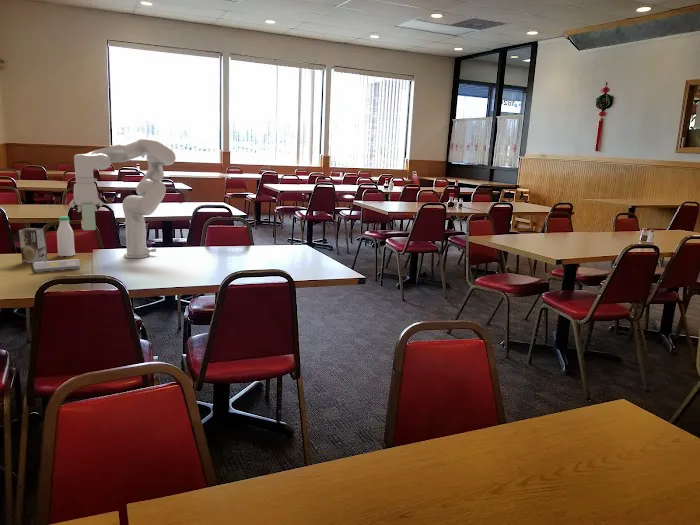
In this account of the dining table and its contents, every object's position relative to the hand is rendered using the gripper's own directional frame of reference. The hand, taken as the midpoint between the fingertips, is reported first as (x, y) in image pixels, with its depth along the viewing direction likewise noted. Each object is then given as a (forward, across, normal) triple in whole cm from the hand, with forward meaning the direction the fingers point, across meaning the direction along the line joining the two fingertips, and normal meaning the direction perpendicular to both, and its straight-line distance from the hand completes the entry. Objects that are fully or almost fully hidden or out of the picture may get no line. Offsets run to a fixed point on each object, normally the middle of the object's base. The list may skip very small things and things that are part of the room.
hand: (87, 219), depth 256 cm
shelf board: (+22, +15, +1) cm, 26 cm away
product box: (+5, 0, 0) cm, 5 cm away
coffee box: (+22, +22, -17) cm, 36 cm away
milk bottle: (+22, +8, -28) cm, 36 cm away
